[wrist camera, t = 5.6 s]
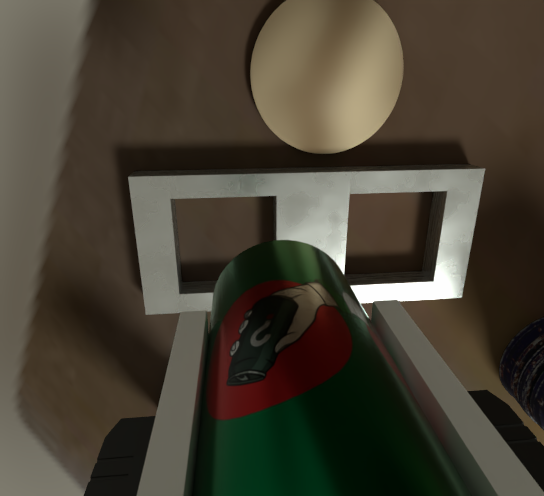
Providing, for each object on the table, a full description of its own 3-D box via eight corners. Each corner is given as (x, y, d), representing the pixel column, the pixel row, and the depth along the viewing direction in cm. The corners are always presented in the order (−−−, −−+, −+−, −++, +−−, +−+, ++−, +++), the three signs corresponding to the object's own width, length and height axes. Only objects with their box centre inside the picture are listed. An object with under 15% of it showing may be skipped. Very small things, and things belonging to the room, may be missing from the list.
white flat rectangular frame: (469, 163, 30) (485, 168, 28) (448, 286, 34) (461, 297, 32) (134, 171, 28) (128, 176, 26) (150, 301, 31) (145, 314, 30)
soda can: (189, 320, 16) (82, 878, 5) (254, 209, 14) (323, 628, 3) (300, 368, 17) (422, 897, 6) (369, 271, 16) (700, 724, 5)
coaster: (408, -12, 26) (411, -14, 25) (391, 151, 29) (395, 152, 29) (248, -15, 25) (248, -17, 24) (251, 154, 28) (252, 155, 28)
